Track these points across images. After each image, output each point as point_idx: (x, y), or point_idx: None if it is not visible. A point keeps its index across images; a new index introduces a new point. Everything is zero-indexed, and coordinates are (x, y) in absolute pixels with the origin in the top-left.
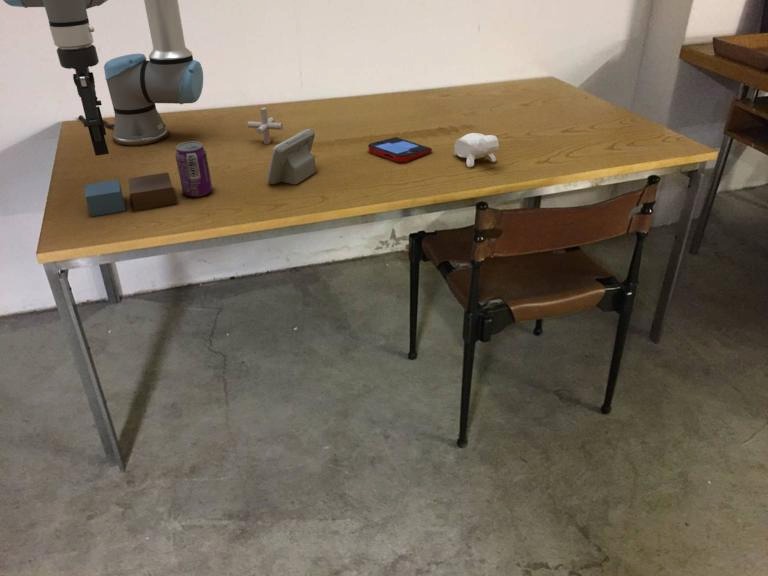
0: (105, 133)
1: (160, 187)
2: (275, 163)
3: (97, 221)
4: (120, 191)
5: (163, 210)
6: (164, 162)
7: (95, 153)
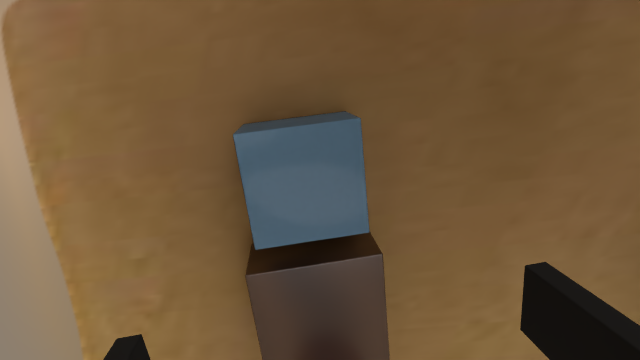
0: (526, 334)
1: (272, 354)
2: None
3: (204, 147)
4: (267, 245)
5: (238, 313)
6: None
7: (108, 354)
